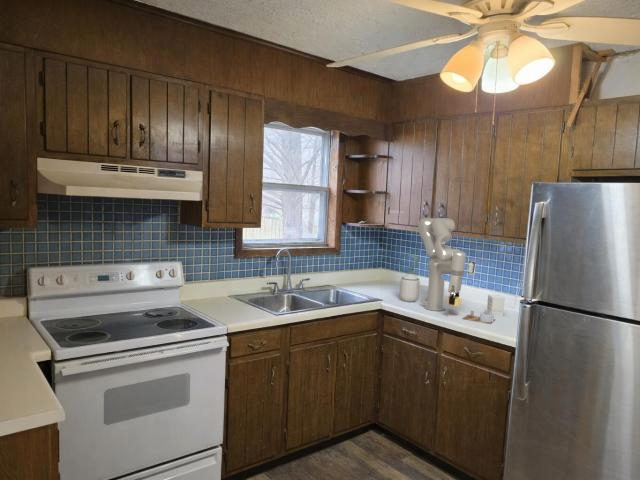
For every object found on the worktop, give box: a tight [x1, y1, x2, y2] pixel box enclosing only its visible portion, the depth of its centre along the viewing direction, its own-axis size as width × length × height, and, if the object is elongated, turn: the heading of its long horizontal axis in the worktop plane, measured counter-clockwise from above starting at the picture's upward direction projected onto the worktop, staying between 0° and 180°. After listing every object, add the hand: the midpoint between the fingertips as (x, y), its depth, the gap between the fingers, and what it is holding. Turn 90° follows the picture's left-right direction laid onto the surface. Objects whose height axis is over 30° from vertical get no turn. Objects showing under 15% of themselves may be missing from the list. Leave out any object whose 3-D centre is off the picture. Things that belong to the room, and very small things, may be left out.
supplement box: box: [486, 294, 505, 318], centre depth 280 cm, size 7×7×13 cm
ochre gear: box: [446, 296, 462, 307], centre depth 271 cm, size 7×7×4 cm
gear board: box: [461, 310, 496, 325], centre depth 268 cm, size 16×13×7 cm
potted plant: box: [399, 253, 421, 303], centre depth 312 cm, size 12×12×31 cm
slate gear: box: [479, 311, 495, 323], centre depth 266 cm, size 7×7×4 cm
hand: (453, 302), depth 271 cm, fingers closed on ochre gear, 7 cm apart
